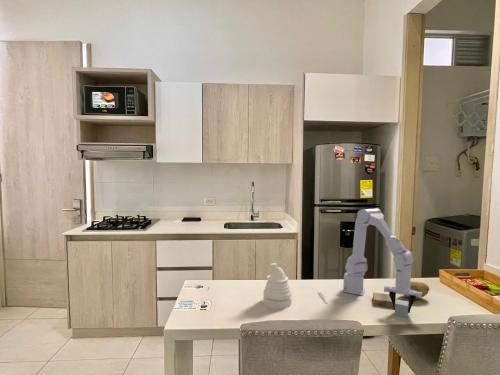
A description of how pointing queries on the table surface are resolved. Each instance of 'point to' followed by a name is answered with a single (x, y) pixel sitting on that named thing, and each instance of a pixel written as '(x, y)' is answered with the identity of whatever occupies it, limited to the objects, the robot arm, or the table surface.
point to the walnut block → (382, 300)
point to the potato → (419, 288)
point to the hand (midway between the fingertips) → (401, 310)
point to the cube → (401, 308)
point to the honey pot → (277, 290)
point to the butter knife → (322, 297)
